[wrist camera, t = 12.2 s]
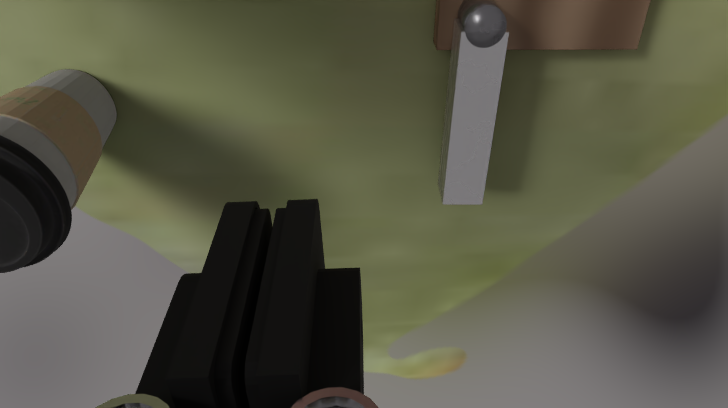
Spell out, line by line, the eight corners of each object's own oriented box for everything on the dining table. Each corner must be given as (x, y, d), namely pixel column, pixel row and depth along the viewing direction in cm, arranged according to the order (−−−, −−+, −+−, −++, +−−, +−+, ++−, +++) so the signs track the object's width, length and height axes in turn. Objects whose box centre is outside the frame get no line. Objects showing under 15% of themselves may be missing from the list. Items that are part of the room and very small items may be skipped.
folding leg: (456, -7, 37) (464, 5, 34) (502, -6, 37) (513, 6, 34) (437, 183, 45) (442, 204, 43) (475, 183, 45) (482, 204, 43)
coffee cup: (53, 18, 40) (-85, 107, 27) (165, 107, 43) (89, 221, 31) (-10, 104, 43) (-158, 218, 31) (98, 180, 47) (6, 308, 35)
